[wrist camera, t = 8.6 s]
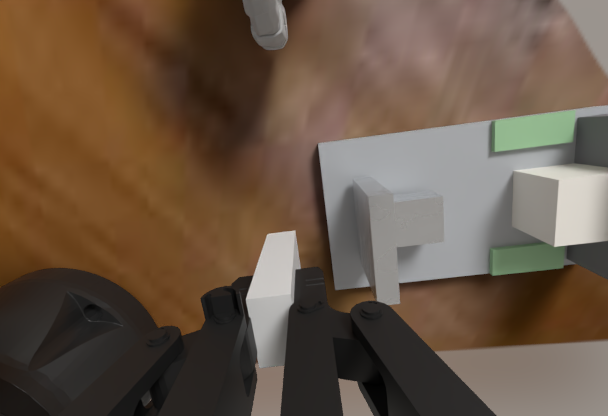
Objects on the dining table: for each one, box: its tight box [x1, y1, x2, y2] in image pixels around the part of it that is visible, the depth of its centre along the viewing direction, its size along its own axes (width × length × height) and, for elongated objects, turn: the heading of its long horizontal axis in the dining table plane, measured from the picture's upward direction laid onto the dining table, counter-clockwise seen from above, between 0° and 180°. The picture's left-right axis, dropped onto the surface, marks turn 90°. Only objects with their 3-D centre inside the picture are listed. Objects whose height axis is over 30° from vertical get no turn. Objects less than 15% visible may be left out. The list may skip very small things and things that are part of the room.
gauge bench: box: [318, 105, 608, 290], centre depth 19 cm, size 19×11×8 cm, turn 97°
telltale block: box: [512, 163, 608, 247], centre depth 20 cm, size 4×4×4 cm
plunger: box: [352, 176, 444, 305], centre depth 19 cm, size 5×6×6 cm
